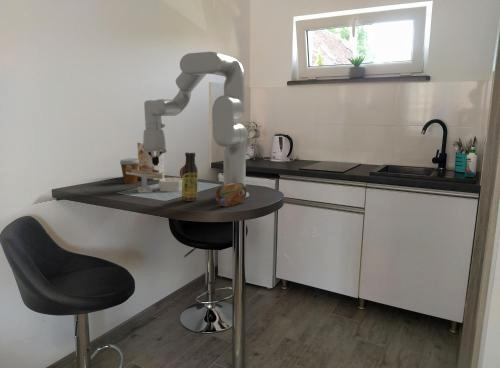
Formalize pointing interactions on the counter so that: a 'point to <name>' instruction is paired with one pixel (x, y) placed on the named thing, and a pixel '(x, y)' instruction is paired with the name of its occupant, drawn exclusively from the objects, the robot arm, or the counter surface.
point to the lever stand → (144, 185)
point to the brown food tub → (134, 165)
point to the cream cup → (170, 184)
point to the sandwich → (230, 194)
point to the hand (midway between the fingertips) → (155, 165)
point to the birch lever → (143, 172)
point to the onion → (182, 171)
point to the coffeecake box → (149, 161)
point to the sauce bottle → (189, 178)
